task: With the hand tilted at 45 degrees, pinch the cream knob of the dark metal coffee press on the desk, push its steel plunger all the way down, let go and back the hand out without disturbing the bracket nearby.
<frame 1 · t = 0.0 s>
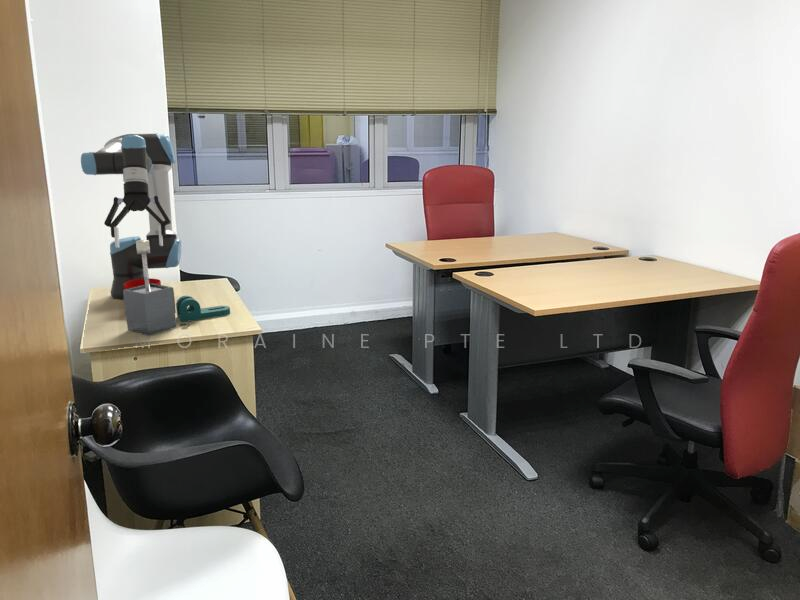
hand: (139, 246, 207), 28 cm above the table, tool tilted 20°, fingers open, 13 cm apart
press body: (152, 328, 213), on the table
ceramic cup: (149, 308, 238), on the table
bracket: (205, 317, 227), on the table
plunger: (145, 266, 207), point 21 cm above the table, slide at 0.0 cm
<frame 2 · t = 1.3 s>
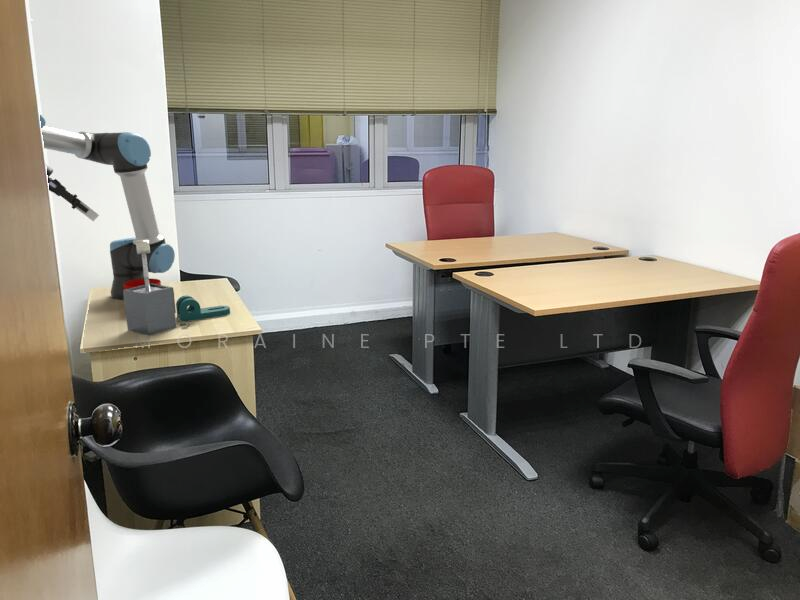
hand: (93, 216, 206), 38 cm above the table, tool tilted 45°, fingers open, 13 cm apart
nothing on the table moved.
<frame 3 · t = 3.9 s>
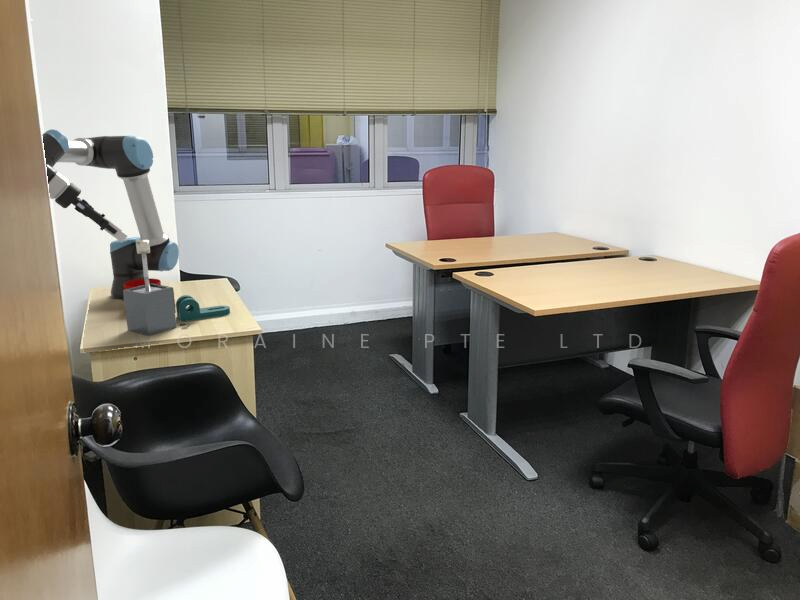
hand: (121, 236, 201), 32 cm above the table, tool tilted 45°, fingers open, 13 cm apart
nothing on the table moved.
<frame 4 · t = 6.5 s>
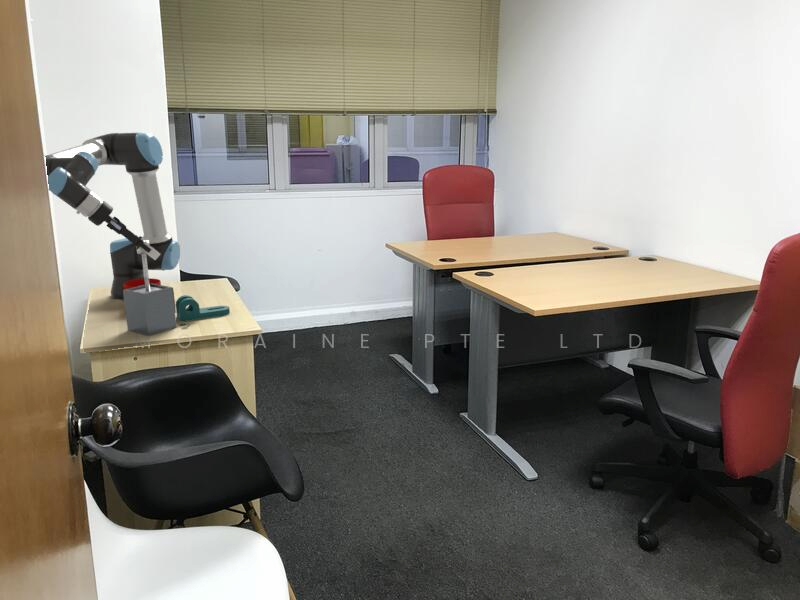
hand: (156, 255, 208), 25 cm above the table, tool tilted 45°, fingers closed on plunger, 4 cm apart
plunger: (145, 266, 207), point 21 cm above the table, slide at 0.0 cm, touching gripper
everything else where it was.
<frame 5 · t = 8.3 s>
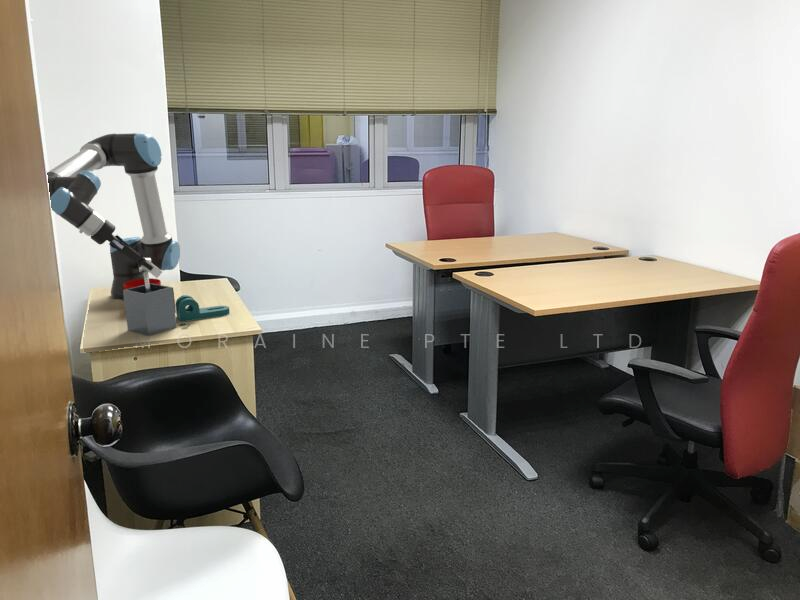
hand: (158, 273, 210), 19 cm above the table, tool tilted 45°, fingers closed on plunger, 4 cm apart
plunger: (147, 284, 209), point 15 cm above the table, slide at 5.9 cm, touching gripper
everything else where it was.
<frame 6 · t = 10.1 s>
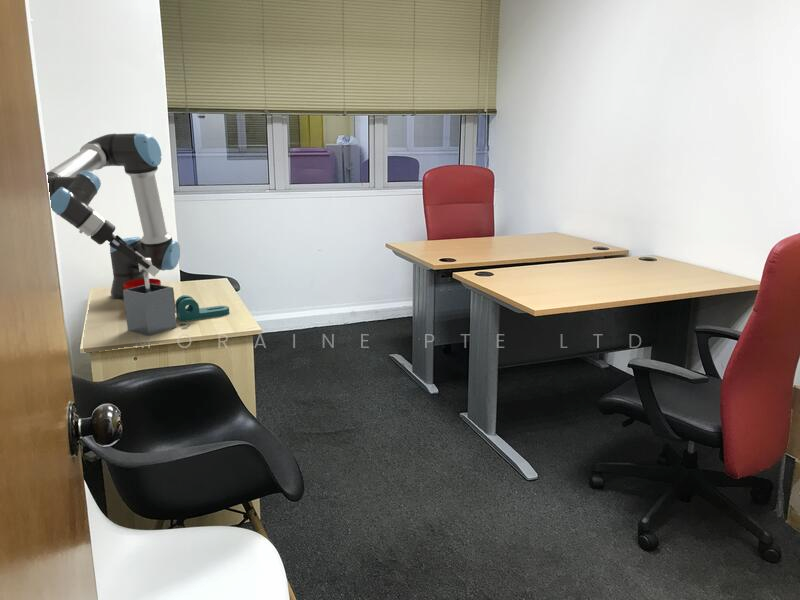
hand: (153, 269, 209), 20 cm above the table, tool tilted 45°, fingers open, 13 cm apart
plunger: (147, 284, 209), point 15 cm above the table, slide at 5.9 cm
everything else where it was.
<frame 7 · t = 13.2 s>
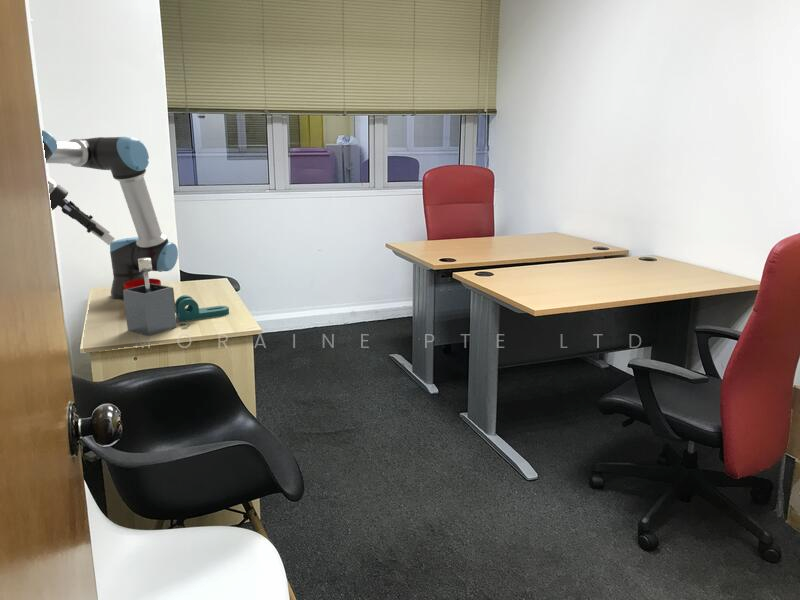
hand: (109, 238, 200), 32 cm above the table, tool tilted 45°, fingers open, 13 cm apart
nothing on the table moved.
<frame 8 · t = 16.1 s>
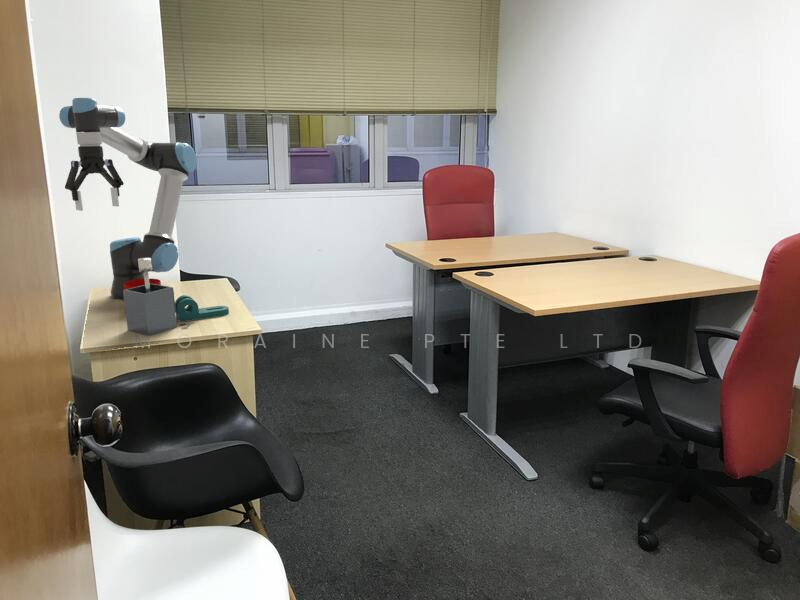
hand: (98, 208, 219), 39 cm above the table, tool pointing down, fingers open, 13 cm apart
nothing on the table moved.
at the end: plunger slide at 5.9 cm; the gripper is holding nothing; bracket moved 0.7 cm from its start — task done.
